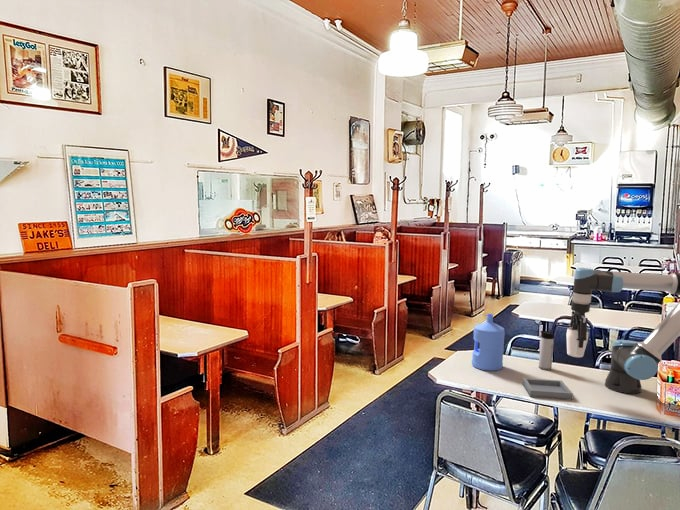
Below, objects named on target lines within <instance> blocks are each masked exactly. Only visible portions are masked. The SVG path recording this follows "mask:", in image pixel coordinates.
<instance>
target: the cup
mask: <svg viewBox="0 0 680 510" xmlns="http://www.w3.org/2000/svg"><path fill="white" fill-rule="evenodd" d="M589 332H590V331H589V330H588V329H587V338H586V340H585V341H584V346H583V355H579V354H576V345H577V340H576V339H578V330H572V327H570V326H568V327H567V329H566V335H565V337H566V354H567V355H568V356H570V357H573V358H583V357H584V355H585V350H586V347H587V344H588V340H589Z"/></svg>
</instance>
